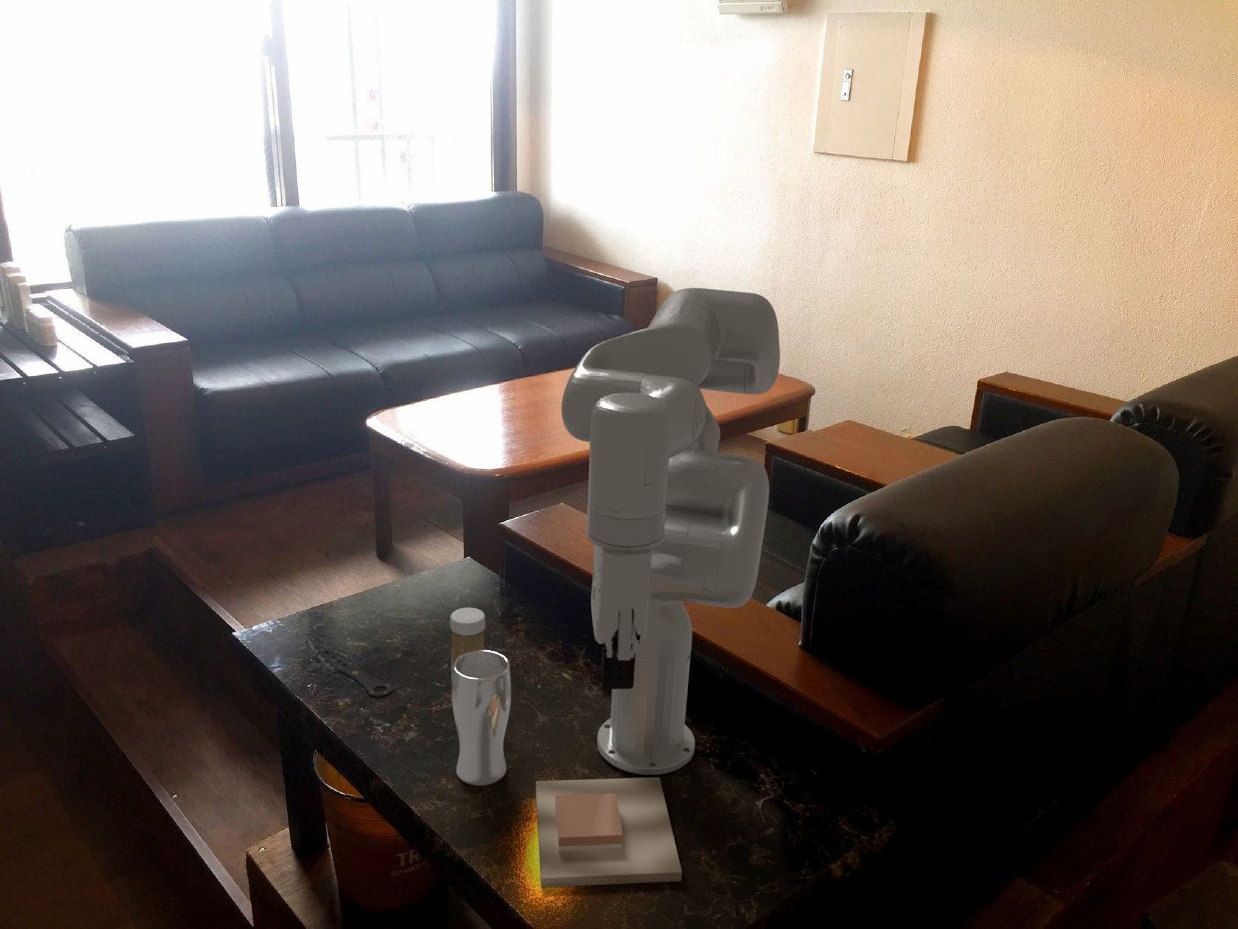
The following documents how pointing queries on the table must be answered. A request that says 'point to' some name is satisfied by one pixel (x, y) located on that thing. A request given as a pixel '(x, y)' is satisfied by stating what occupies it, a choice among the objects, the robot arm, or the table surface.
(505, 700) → the beer glass
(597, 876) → the board
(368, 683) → the throwing knife
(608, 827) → the tile
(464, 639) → the sprinkles bottle
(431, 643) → the table surface
